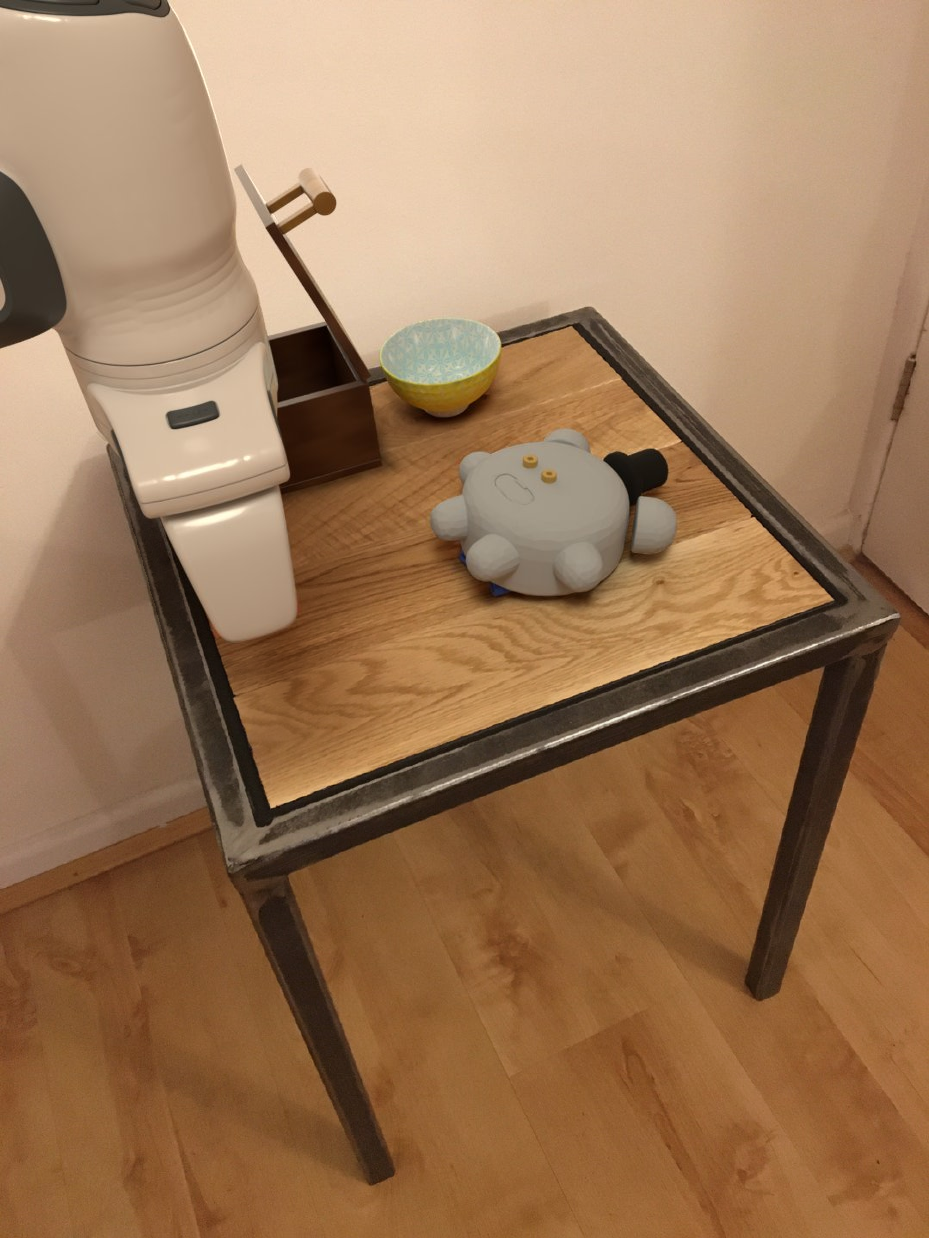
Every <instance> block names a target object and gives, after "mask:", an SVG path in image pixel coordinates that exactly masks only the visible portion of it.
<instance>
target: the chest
mask: <svg viewBox="0 0 929 1238" xmlns="http://www.w3.org/2000/svg"><path fill="white" fill-rule="evenodd" d="M268 339H269V344H270V348H271V352H272V357H273V361H274V365H275V370H276V374H277V379H278V391H277V421H278V425H279V428H280V431H281V435H282V438H283V442H284V446H285V450H286V455H287V461H288V465H289V470H290V478H289V480H288V481H286V482H284V483H281V484H279V488H280V492H281V496H282V495H285V494H290V493H292V492H296V491H299V490H302V489H307V488H309V487H312V486H316V485H317V486H318V485H320V484H323V483H327V482H330V481H333V480H337V479H341V478H344V477H347V476H350V475H351V476H352V475H355V474H358V473H361V472H365V471H369V470H371V469H372V470H373V469H376V468H379V467H382V466H383V461H382V455H381V449H380V443H379V437H378V430H377V425H376V419H375V413H374V412H375V411H374V406H373V403H372V402H373V401H372V395H371V389H370V383H369V382H368V380H367V379H366V380H365V381H364V380H363V379H362V377H361V376H360V374H359V373H358V371H357V369H356V368H355V366H354V365H353V363H352V362H351V360H350V359H349V357H348V356H347V354H346V352H345V351H344V349H343V348H342V346H341V345H340V343H339V342H338V340H337V338H336V337H335V335H334V334H333V332H332V331H331V329H330V328H329V326H328V325H327V323H326V321H325V320H324V321H320V322H317V323H313V324H309V325H306V326H301V327H298V328H294V329H290V330H286V331H282V332H278V333H274V334H271V335H268Z"/></svg>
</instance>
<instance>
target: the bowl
mask: <svg viewBox="0 0 929 1238" xmlns="http://www.w3.org/2000/svg"><path fill="white" fill-rule="evenodd" d="M378 358H379V364H380V367H381V370H382V373H383V375H384V378H385V380H386V382H387V383H388V385H389V387H391V389H392V390H393V392H394V393H395V394H396V395H397V396H398V397H399V398H401V399H402V400H403V401H404V402H406V403H407V404H409V405H411V406H412V407H415V408H417V409H420V410H422V411H423V410H424V411H425V412H426V413H427V414H428V415H430V416H432V417H435V418H450V417H451V418H452V417H455V416H458V415H460V414H461V413H463V412H465V411H466V410H467V409H468V407H469V405H470V404H473V402H475V401H477V400H478V399H479V398H481V397H482V396H483V395H484V393H485V392H486V391H488V389H490V387H491V386H492V383H493V382H494V380H495V377H496V376H497V373H498V370H499V366H500V363H501V358H502V341H501V339H500V336H499V334H498V333H497V332H496V331H495V330H494V329H493V328H492V327H490V326H488V325H487V324H485V323H483V322H480V321H477V320H474V319H470V318H465V317H453V316H452V317H451V316H449V317H447V316H446V317H445V316H444V317H433V318H428V319H422V320H418V321H416V322H413V323H409V324H407V325H405V326H404V327H402V328H399V329H397V330H396V331H394V332H393V333H392V334H391V335H389V336H388V337H387V339H385V341H384V342H383V344H382V345H381V347H380V350H379V357H378Z"/></svg>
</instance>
